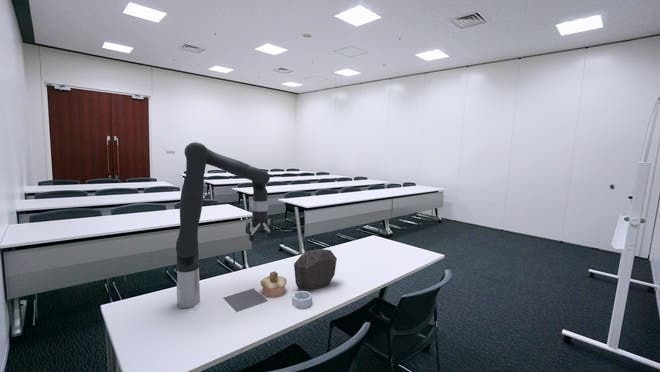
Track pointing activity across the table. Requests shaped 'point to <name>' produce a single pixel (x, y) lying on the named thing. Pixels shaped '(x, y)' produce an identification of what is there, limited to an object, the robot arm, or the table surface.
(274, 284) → the lid
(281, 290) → the bowl
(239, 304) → the mat
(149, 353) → the table surface
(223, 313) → the table surface
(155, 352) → the table surface
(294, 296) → the small bowl
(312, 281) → the decorative stone
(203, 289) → the table surface
